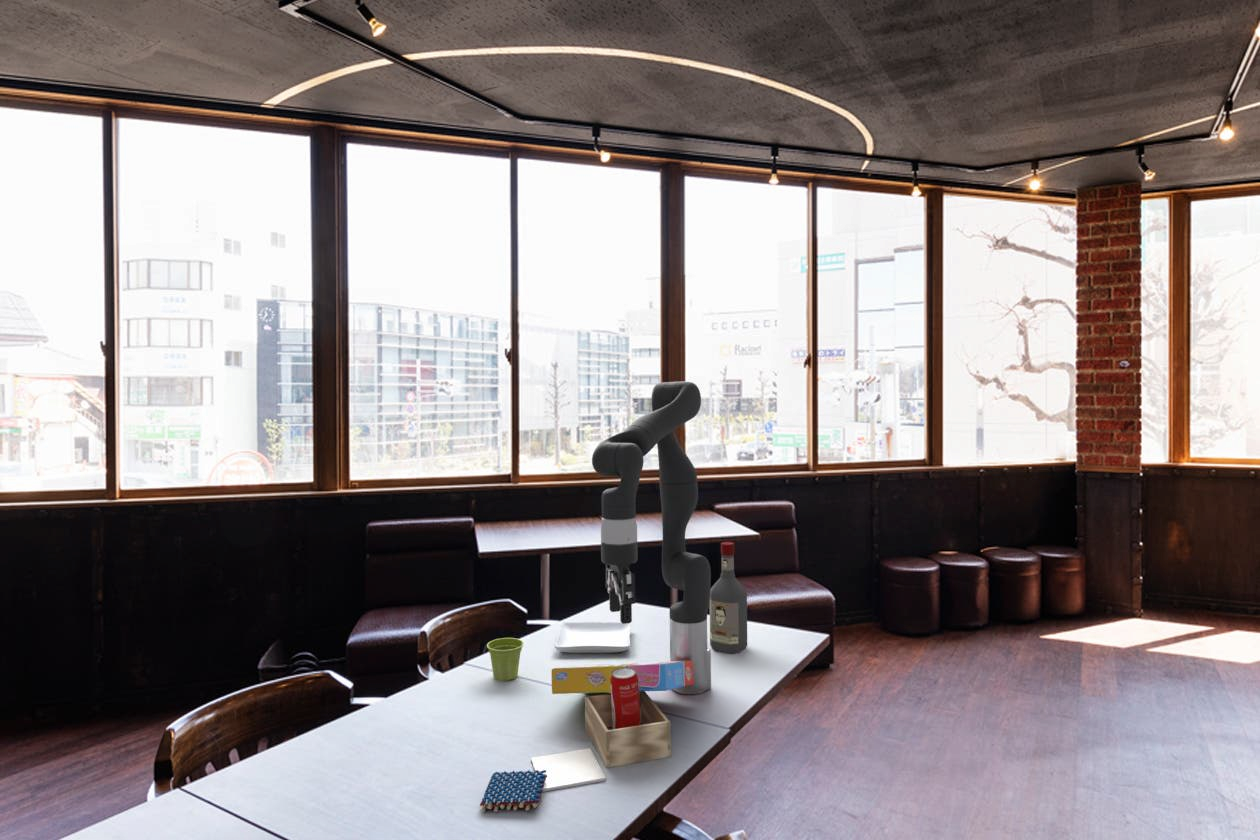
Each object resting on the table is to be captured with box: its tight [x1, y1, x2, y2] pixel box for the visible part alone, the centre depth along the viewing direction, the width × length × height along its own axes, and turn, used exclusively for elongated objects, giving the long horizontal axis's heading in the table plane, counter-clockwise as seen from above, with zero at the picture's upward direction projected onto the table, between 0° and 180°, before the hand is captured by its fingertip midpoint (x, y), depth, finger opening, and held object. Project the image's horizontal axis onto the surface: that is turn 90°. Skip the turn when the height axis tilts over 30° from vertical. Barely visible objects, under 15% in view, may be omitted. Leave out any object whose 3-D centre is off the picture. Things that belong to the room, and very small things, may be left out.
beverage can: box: [610, 667, 641, 730], centre depth 149 cm, size 6×6×15 cm
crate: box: [584, 691, 671, 769], centre depth 149 cm, size 13×17×7 cm
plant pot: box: [486, 637, 524, 682], centre depth 185 cm, size 9×9×9 cm
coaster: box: [530, 748, 607, 793], centre depth 138 cm, size 12×12×1 cm
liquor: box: [709, 541, 748, 655], centre depth 204 cm, size 9×9×30 cm
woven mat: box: [479, 769, 547, 814], centre depth 129 cm, size 10×11×2 cm
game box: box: [551, 660, 693, 695], centre depth 165 cm, size 21×6×27 cm
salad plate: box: [553, 621, 632, 654], centre depth 210 cm, size 21×21×3 cm
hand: (620, 616), depth 149 cm, fingers open, 8 cm apart
